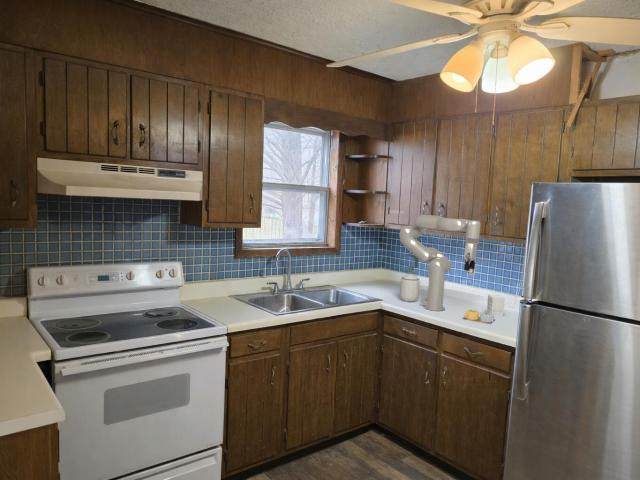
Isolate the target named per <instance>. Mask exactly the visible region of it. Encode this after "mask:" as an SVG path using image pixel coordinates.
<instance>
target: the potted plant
mask: <svg viewBox="0 0 640 480" xmlns="http://www.w3.org/2000/svg"><path fill="white" fill-rule="evenodd" d="M407 256H408V257H410V258H412V259H414V262H413V263H414V264H413V266H406V267H405V268H406V269H408V271H407V272H406V274H404V275H403V276H401V279H400V286H399V297H400V300H402V302H404V303H405V302H407V303H415V302H417V301H418V300H419V296H420V284H421V283H420V282H421V281H420V278H419V277H418V276H417V275H416V274H415V272H414V270H415V269H417V268H418V267H419V266H418V265H419V259H418V258H417V257H416V256H415V255H414V254H413V253H408V254H407Z"/></svg>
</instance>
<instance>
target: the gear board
mask: <svg viewBox="0 0 640 480" xmlns="http://www.w3.org/2000/svg"><path fill="white" fill-rule="evenodd" d="M471 312H474V311H471ZM485 312H486V314H489V311H487V310H485ZM461 320H464V321H471V322H477V323H481V324H486V325H492V324H493V323H494V322H495V321H496V319H494V321H493V322H484V321H480V316H479V319H478V320H476V319H474V320H472V319H467V318H465V316H463V317H462V318H461Z"/></svg>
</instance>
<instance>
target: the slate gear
mask: <svg viewBox="0 0 640 480" xmlns="http://www.w3.org/2000/svg"><path fill="white" fill-rule="evenodd" d="M479 317H480V321H484V322H493V321H494V318H495V316H494V315H493V314H491V313H489V314H486V311H485V312H484V311H483V312H479ZM494 322H495V321H494ZM494 322H493V323H494Z"/></svg>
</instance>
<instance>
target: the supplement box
mask: <svg viewBox="0 0 640 480" xmlns="http://www.w3.org/2000/svg"><path fill="white" fill-rule="evenodd" d="M486 304H487V305H486V306H487V307H486V311H489V313H491V314H493V315H494V318H495V317H497V318H498V317H500V318H503V317H504V310H505V297H503V295H499V294H498V295H497V294H496V295H494V294H493V295H492V294H488V295H487V303H486Z"/></svg>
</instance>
